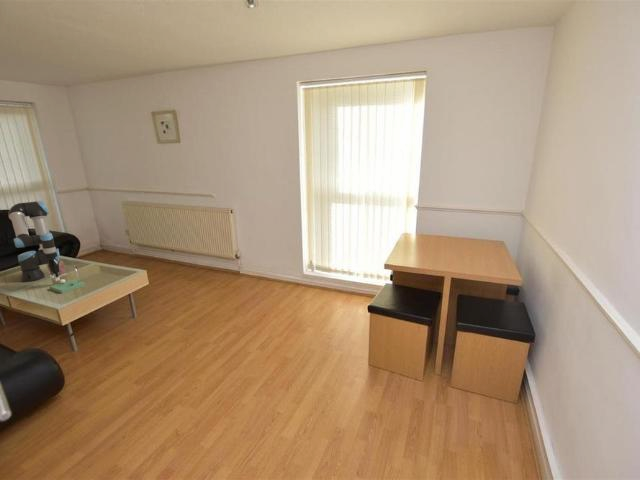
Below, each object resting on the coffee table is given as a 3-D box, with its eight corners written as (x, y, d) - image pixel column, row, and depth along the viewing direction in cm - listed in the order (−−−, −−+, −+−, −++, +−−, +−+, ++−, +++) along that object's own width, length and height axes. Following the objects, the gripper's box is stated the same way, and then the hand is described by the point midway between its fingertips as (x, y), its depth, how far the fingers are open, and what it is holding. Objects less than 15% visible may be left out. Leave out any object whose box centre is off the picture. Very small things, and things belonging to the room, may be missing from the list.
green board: (50, 289, 244) (49, 286, 243) (73, 282, 257) (72, 279, 257) (62, 293, 236) (61, 290, 235) (85, 285, 249) (84, 282, 249)
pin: (78, 282, 250) (74, 266, 246) (79, 282, 250) (75, 265, 246) (80, 283, 248) (76, 266, 244) (81, 282, 249) (77, 266, 245)
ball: (59, 283, 248) (58, 279, 247) (64, 282, 251) (63, 278, 250) (61, 284, 246) (60, 280, 245) (66, 282, 249) (65, 278, 248)
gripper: (40, 252, 245) (48, 280, 251) (48, 254, 239) (56, 283, 246) (51, 250, 252) (58, 277, 258) (60, 252, 246) (67, 280, 252)
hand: (57, 280), depth 252 cm, fingers closed
